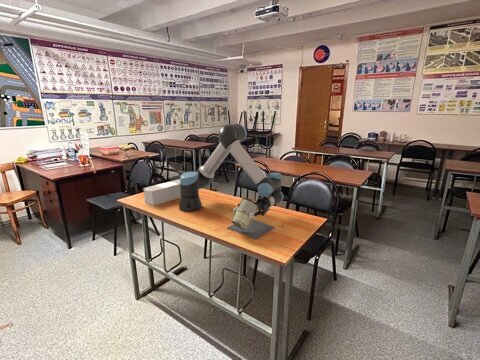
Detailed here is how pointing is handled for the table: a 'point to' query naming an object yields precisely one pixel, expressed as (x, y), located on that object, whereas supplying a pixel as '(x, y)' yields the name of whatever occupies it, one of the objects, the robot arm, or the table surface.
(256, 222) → the rubber mat
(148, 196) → the long grey foam block
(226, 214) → the table surface
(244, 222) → the coffee can
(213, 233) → the table surface
